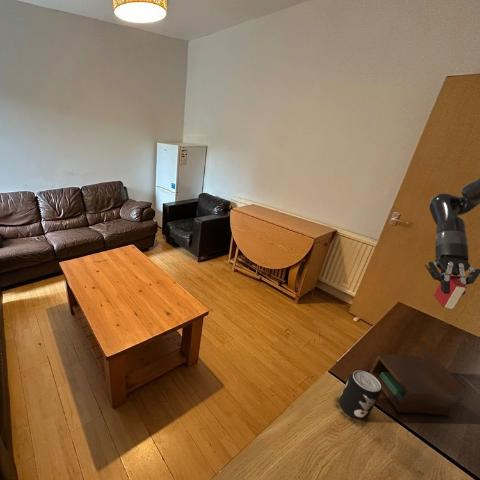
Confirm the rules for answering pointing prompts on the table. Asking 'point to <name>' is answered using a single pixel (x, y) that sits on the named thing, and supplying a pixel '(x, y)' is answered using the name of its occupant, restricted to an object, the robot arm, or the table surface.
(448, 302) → the book
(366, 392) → the beverage can
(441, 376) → the bookshelf
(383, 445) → the table surface
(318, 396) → the table surface
